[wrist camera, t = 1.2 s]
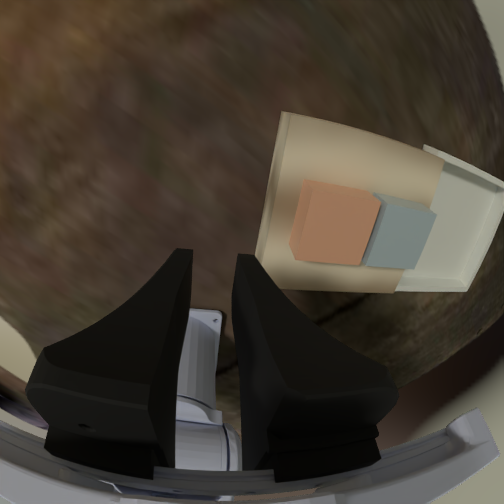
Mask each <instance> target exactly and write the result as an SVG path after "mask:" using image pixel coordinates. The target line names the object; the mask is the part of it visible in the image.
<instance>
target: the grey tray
mask: <svg viewBox="0 0 504 504" xmlns="http://www.w3.org/2000/svg"><path fill="white" fill-rule="evenodd" d="M423 150H424V151H426V152H429V153H431V154H433V155H436V156H438V157H440V158H442V159H444V160H445V162H444V165H443V169H442V172H441V175H440V179H439V182H438V185H437V188H436V191H435V194H434V197H433V200H432V203H431V206H430V210H431V211H433V212H434V213H435V214H437V216H436V219H435V221H434V224H433V227H432V229H431V232H430V234H429V237H428V239H427V241H426V244H425V246H424V249H423V251H422V253H421V255H420V258H419V260H418V262H417V264H416V267H415V269H414V270H413V269H405V270H404V272H403V275H402V277H401V279H400V281H399V283H398V285H397V287H396V289H395V291H426V292H467V290H468V288H469V286H470V285H471V283H472V281H473V279H474V277H475V275H476V273H477V271H478V269H479V267H480V265H481V263H482V261H483V259H484V257H485V255H486V253H487V251H488V248H489V246H490V244H491V242H492V239H493V237H494V235H495V232H496V230H497V227H498V225H499V222H500V220H501V217H502V215H503V212H504V182H503V181H501V180H499V179H497V178H495V177H494V176H492V175H490V174H488V173H486V172H484V171H482V170H480V169H478V168H476V167H474V166H472V165H470V164H468V163H466V162H464V161H462V160H460V159H458V158H455V157H453V156H451V155H449V154H446V153H444V152H442V151H439V150H437V149H435V148H432V147H430V146H427V145H425V144H424V146H423Z"/></svg>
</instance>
